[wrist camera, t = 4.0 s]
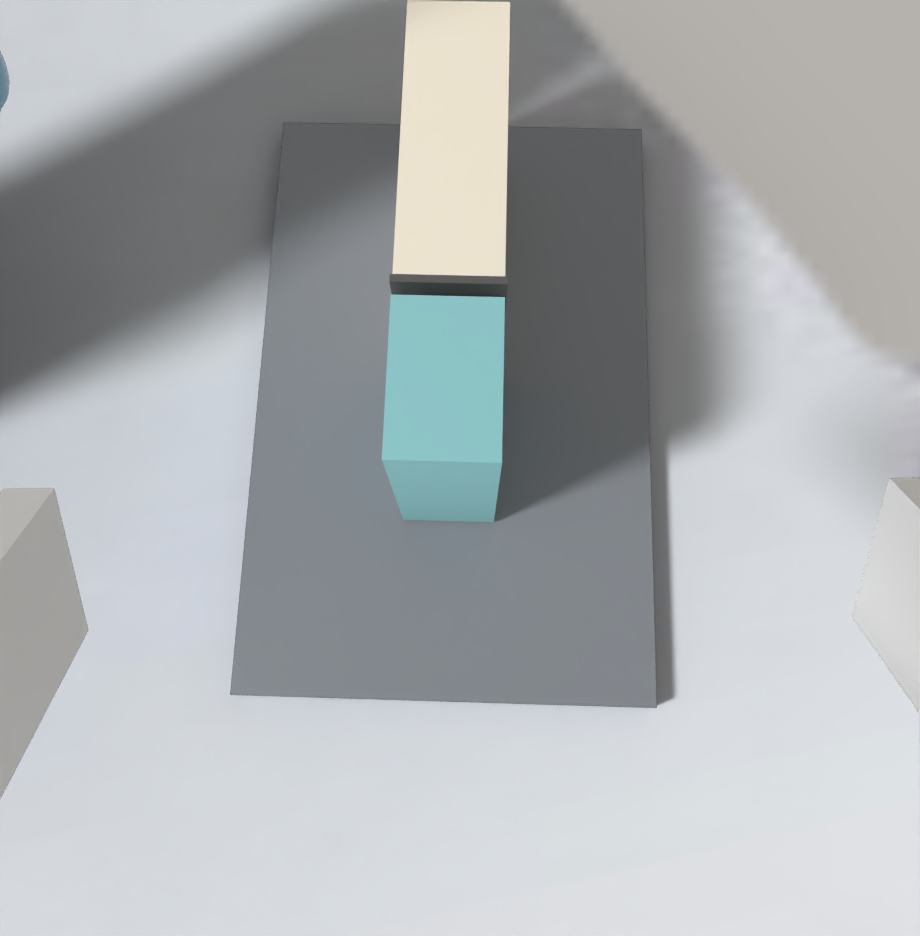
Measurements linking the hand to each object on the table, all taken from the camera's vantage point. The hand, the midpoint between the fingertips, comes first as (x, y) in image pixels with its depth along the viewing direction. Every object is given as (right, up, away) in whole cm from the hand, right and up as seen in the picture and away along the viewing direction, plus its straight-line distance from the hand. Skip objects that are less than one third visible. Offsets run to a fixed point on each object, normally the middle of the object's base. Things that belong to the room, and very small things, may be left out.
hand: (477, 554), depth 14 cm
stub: (-1, +2, +25) cm, 26 cm away
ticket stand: (-1, +5, +27) cm, 28 cm away
